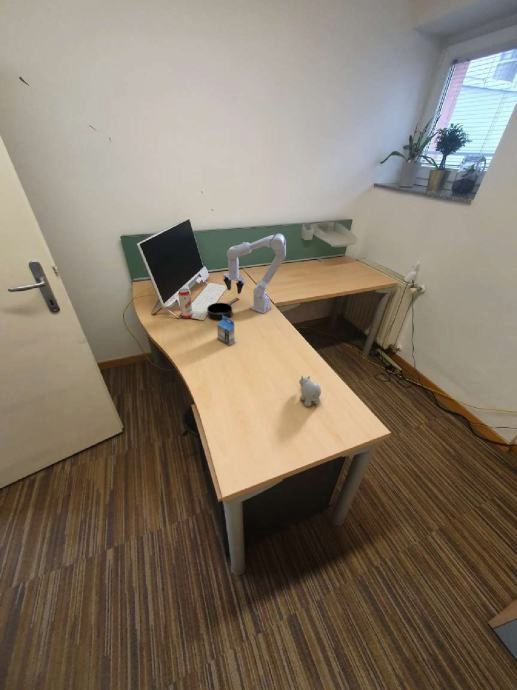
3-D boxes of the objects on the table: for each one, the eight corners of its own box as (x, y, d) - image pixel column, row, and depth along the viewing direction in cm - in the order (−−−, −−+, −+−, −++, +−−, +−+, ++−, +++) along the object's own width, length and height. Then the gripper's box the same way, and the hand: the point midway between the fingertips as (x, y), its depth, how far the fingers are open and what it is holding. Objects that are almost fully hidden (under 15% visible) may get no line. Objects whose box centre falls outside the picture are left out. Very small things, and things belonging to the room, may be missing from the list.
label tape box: (217, 338, 138) (215, 317, 131) (223, 335, 140) (222, 314, 133) (229, 345, 133) (228, 324, 126) (235, 342, 136) (234, 321, 128)
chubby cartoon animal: (308, 384, 113) (311, 368, 108) (322, 405, 104) (325, 389, 99) (292, 387, 111) (294, 371, 106) (304, 409, 102) (307, 393, 97)
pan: (247, 307, 166) (247, 301, 164) (221, 323, 150) (220, 316, 148) (229, 300, 172) (229, 294, 170) (202, 315, 156) (202, 309, 154)
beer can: (195, 315, 156) (192, 289, 147) (188, 320, 152) (184, 293, 142) (186, 312, 158) (182, 287, 149) (179, 317, 154) (175, 291, 144)
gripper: (219, 268, 154) (220, 290, 162) (239, 274, 148) (239, 297, 156) (227, 264, 159) (228, 286, 167) (247, 270, 152) (247, 293, 160)
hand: (234, 291), depth 161 cm, fingers open, 7 cm apart
